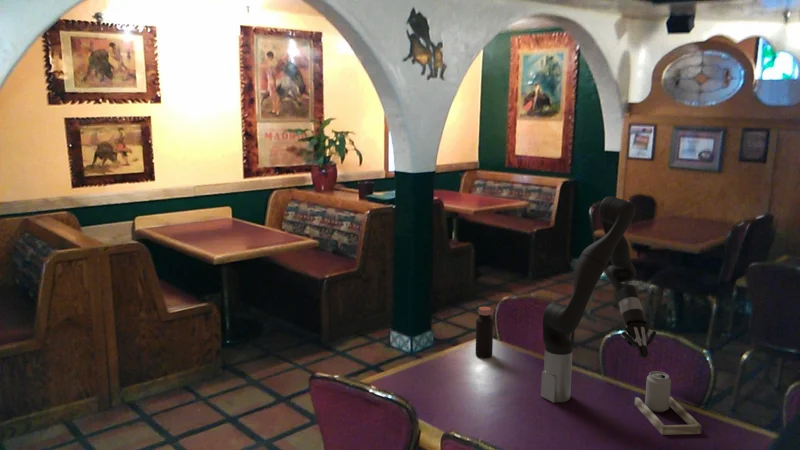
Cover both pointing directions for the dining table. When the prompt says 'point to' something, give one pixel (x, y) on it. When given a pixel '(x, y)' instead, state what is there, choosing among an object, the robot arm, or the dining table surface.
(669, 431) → the wooden frame
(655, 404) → the can
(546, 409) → the dining table surface
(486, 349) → the bottle
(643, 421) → the dining table surface
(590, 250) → the robot arm
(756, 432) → the dining table surface
